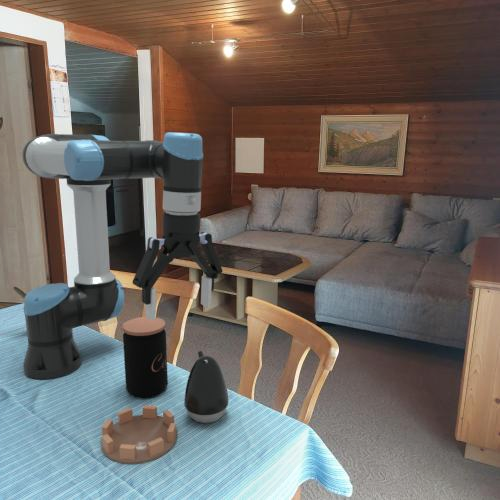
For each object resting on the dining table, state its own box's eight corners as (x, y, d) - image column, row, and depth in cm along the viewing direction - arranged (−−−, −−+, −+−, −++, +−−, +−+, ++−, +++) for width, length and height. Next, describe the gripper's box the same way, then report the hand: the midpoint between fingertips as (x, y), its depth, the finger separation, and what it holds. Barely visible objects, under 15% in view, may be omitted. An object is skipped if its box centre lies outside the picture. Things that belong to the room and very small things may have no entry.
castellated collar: (89, 435, 99) (88, 422, 98) (155, 409, 109) (154, 397, 108) (120, 475, 87) (119, 460, 86) (191, 442, 97) (191, 428, 96)
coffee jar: (158, 402, 112) (155, 334, 108) (118, 397, 114) (114, 330, 110) (173, 381, 122) (171, 318, 118) (137, 376, 124) (133, 315, 121)
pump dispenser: (220, 400, 113) (220, 344, 110) (234, 424, 104) (234, 362, 100) (180, 408, 109) (178, 350, 106) (190, 433, 100) (189, 370, 97)
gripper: (133, 219, 80) (133, 330, 85) (241, 211, 96) (236, 305, 101) (114, 212, 86) (115, 317, 90) (220, 206, 102) (216, 296, 107)
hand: (179, 311), depth 96 cm, fingers open, 13 cm apart
